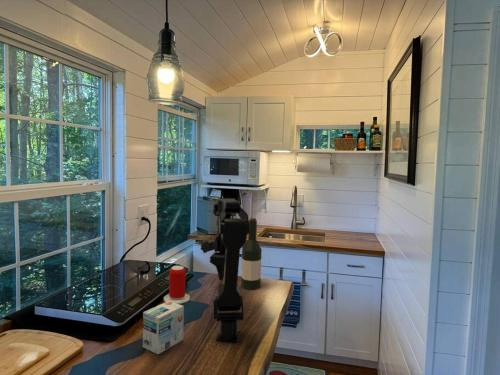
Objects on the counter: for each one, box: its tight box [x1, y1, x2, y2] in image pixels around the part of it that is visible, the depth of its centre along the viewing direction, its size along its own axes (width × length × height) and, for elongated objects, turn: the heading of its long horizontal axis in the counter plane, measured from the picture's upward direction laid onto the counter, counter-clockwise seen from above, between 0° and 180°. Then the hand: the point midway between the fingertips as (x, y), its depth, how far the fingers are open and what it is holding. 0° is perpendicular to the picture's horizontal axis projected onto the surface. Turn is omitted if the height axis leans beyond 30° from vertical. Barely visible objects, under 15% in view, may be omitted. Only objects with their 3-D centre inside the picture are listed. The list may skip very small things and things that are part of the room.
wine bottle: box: [240, 217, 263, 291], centre depth 153 cm, size 8×8×30 cm
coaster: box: [163, 292, 191, 305], centre depth 138 cm, size 10×10×1 cm
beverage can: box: [168, 265, 186, 299], centre depth 137 cm, size 6×6×12 cm
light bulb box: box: [142, 301, 185, 355], centre depth 105 cm, size 11×7×11 cm, turn 148°
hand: (224, 275), depth 128 cm, fingers open, 9 cm apart
